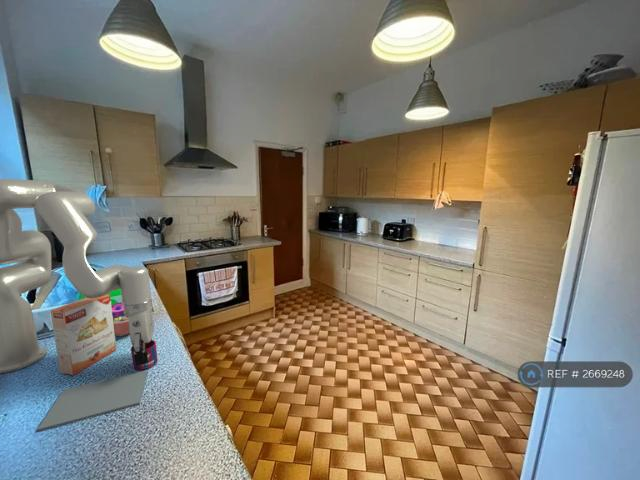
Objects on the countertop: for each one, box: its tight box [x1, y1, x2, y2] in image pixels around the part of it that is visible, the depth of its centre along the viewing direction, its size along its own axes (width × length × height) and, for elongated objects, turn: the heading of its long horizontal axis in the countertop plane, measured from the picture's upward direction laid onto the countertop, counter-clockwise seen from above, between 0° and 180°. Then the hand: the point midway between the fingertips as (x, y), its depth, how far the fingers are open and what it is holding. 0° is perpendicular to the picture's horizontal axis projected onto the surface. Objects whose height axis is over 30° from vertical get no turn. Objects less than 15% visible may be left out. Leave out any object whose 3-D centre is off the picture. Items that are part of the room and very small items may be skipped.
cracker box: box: [50, 294, 117, 376], centre depth 86 cm, size 14×6×21 cm, turn 168°
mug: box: [130, 339, 158, 372], centre depth 87 cm, size 7×10×7 cm
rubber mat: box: [37, 370, 149, 433], centre depth 72 cm, size 20×14×1 cm
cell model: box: [111, 302, 130, 337], centre depth 105 cm, size 17×20×11 cm
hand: (144, 355), depth 86 cm, fingers closed on mug, 8 cm apart
